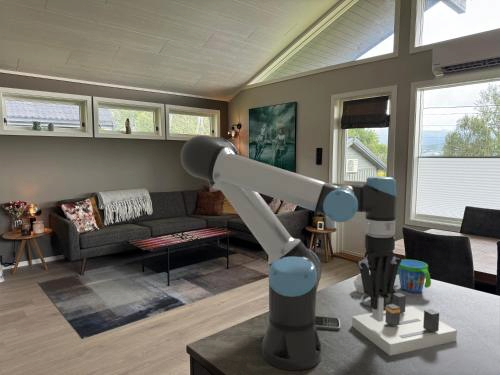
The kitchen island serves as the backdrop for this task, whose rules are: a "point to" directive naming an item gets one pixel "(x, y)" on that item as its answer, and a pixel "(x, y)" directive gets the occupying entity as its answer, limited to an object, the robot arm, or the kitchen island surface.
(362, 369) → the kitchen island surface
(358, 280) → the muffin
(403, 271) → the snack cup
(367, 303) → the ceramic mug
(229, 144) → the robot arm
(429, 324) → the block
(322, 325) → the cell phone
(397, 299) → the block
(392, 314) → the block
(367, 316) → the panel
